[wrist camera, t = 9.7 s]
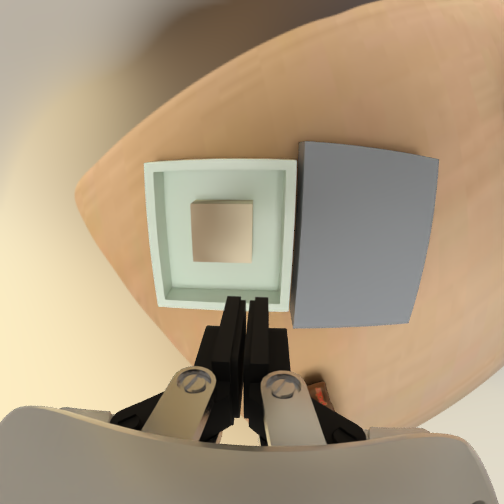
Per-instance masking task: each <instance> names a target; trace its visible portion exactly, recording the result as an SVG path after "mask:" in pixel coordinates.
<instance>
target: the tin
mask: <svg viewBox="0 0 504 504" xmlns="http://www.w3.org/2000/svg"><path fill="white" fill-rule="evenodd" d="M307 389H308V392H309V394H310V397H312V398H313V399H315V400H316V401H318V402H320V403H321V404H323V405H325V406H326V407H328V408H329V409H331V410H333V411H334V408H333V406H332V403H331V402H330V399H329V396H328V392H327V389H326V384H325V382H319V383H315V384H312V385H309V386H307ZM334 412H335V411H334Z"/></svg>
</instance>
